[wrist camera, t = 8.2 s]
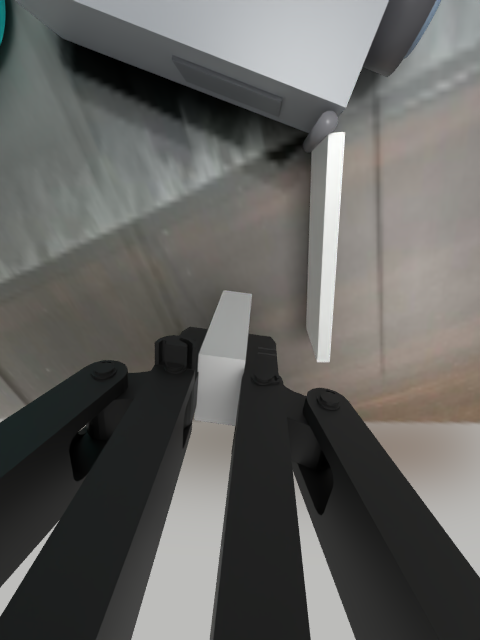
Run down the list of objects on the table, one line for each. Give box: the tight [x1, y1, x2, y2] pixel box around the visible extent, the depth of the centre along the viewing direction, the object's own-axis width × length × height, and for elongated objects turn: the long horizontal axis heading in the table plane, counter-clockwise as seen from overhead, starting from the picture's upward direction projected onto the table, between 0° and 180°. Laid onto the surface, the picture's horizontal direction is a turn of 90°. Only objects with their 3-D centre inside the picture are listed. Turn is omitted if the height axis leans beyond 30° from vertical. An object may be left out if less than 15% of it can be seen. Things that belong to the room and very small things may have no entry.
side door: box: [303, 111, 345, 362], centre depth 19 cm, size 14×2×6 cm, turn 3°
